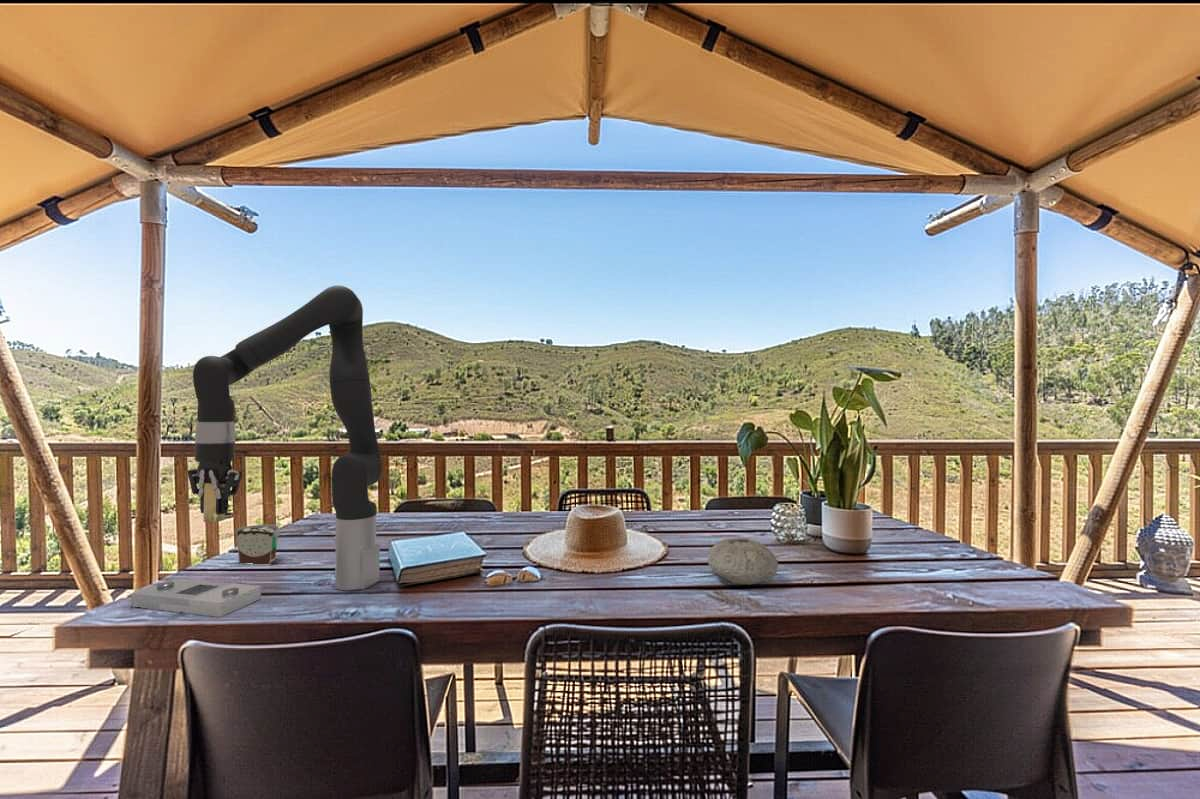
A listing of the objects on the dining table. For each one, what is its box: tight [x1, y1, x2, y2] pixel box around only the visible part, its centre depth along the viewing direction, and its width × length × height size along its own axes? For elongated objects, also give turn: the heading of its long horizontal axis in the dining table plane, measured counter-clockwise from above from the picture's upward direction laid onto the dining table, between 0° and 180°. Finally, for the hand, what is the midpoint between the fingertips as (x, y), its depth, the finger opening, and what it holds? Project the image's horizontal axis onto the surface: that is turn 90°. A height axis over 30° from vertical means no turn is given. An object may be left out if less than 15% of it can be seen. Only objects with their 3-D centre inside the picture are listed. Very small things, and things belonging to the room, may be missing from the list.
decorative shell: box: [707, 537, 779, 586], centre depth 131 cm, size 18×18×10 cm
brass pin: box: [202, 482, 226, 523], centre depth 117 cm, size 4×4×9 cm
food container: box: [234, 524, 282, 566], centre depth 142 cm, size 12×6×10 cm, turn 84°
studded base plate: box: [130, 577, 262, 618], centre depth 113 cm, size 24×10×4 cm, turn 79°
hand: (213, 512), depth 117 cm, fingers closed on brass pin, 4 cm apart
